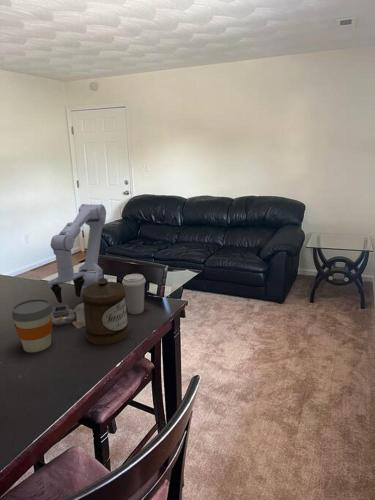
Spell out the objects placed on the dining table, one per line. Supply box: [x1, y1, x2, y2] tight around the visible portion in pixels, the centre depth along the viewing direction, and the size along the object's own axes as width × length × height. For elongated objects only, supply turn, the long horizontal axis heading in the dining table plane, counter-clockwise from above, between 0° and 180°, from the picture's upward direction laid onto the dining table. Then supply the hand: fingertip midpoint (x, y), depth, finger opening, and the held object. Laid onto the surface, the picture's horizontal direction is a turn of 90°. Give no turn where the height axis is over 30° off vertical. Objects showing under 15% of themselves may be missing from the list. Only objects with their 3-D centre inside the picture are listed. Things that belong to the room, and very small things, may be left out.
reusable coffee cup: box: [11, 298, 53, 353], centre depth 126 cm, size 12×13×15 cm
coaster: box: [71, 320, 86, 330], centre depth 143 cm, size 6×6×1 cm
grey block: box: [73, 303, 85, 325], centre depth 142 cm, size 5×3×7 cm, turn 84°
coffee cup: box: [121, 273, 147, 315], centre depth 151 cm, size 10×10×15 cm
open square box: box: [52, 304, 70, 319], centre depth 145 cm, size 6×8×2 cm
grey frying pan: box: [51, 308, 76, 326], centre depth 145 cm, size 18×10×2 cm, turn 127°
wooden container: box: [82, 277, 129, 346], centre depth 132 cm, size 15×15×22 cm
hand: (69, 299), depth 142 cm, fingers open, 7 cm apart
